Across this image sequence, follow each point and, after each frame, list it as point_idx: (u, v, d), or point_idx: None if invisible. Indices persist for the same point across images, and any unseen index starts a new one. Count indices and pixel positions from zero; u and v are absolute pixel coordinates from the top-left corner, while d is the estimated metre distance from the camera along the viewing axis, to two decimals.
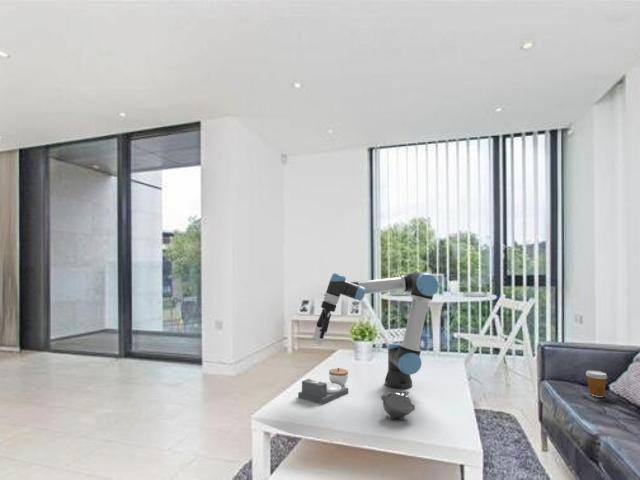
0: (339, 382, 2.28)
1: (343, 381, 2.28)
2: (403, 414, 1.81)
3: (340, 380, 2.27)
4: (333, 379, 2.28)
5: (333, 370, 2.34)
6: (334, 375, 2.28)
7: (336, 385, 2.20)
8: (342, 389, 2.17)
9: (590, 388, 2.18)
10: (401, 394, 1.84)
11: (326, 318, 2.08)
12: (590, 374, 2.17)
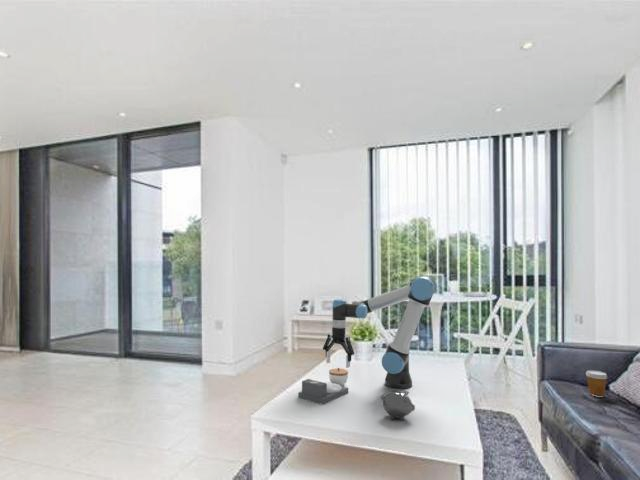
0: (339, 382, 2.28)
1: (343, 381, 2.28)
2: (403, 414, 1.81)
3: (340, 380, 2.27)
4: (333, 379, 2.28)
5: (333, 370, 2.34)
6: (334, 375, 2.28)
7: (336, 385, 2.20)
8: (342, 389, 2.17)
9: (590, 388, 2.18)
10: (401, 394, 1.84)
11: (348, 342, 2.28)
12: (590, 374, 2.17)
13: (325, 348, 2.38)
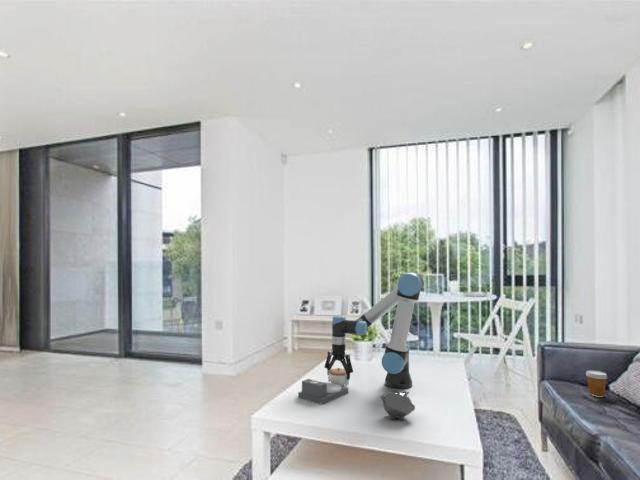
0: (339, 382, 2.28)
1: (343, 381, 2.28)
2: (403, 414, 1.81)
3: (340, 380, 2.27)
4: (333, 379, 2.28)
5: (333, 369, 2.34)
6: (334, 375, 2.28)
7: (336, 385, 2.20)
8: (342, 389, 2.17)
9: (590, 388, 2.18)
10: (401, 394, 1.84)
11: (348, 360, 2.28)
12: (590, 374, 2.17)
13: (327, 366, 2.37)
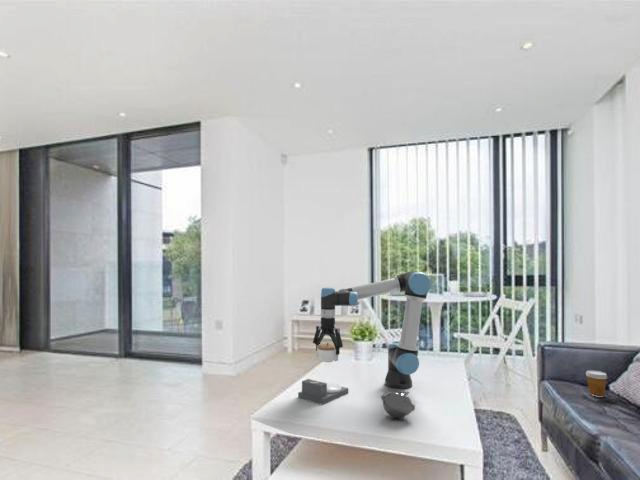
0: (328, 357, 2.13)
1: (332, 356, 2.14)
2: (403, 414, 1.81)
3: (329, 355, 2.13)
4: (321, 354, 2.14)
5: (322, 345, 2.20)
6: (322, 350, 2.14)
7: (336, 385, 2.20)
8: (342, 389, 2.17)
9: (590, 388, 2.18)
10: (401, 394, 1.84)
11: (338, 334, 2.14)
12: (590, 374, 2.17)
13: (315, 342, 2.22)
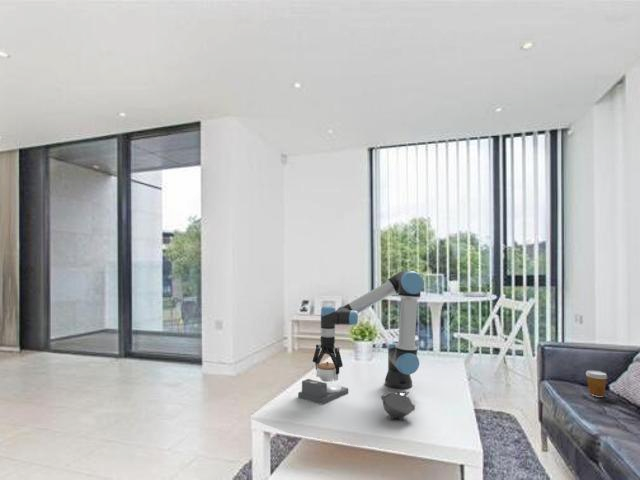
0: (328, 377, 2.13)
1: (332, 376, 2.13)
2: (403, 414, 1.81)
3: (329, 375, 2.13)
4: (321, 374, 2.13)
5: (322, 364, 2.19)
6: (322, 369, 2.13)
7: (336, 385, 2.20)
8: (342, 389, 2.17)
9: (590, 388, 2.18)
10: (401, 394, 1.84)
11: (337, 354, 2.13)
12: (590, 374, 2.17)
13: (315, 360, 2.22)
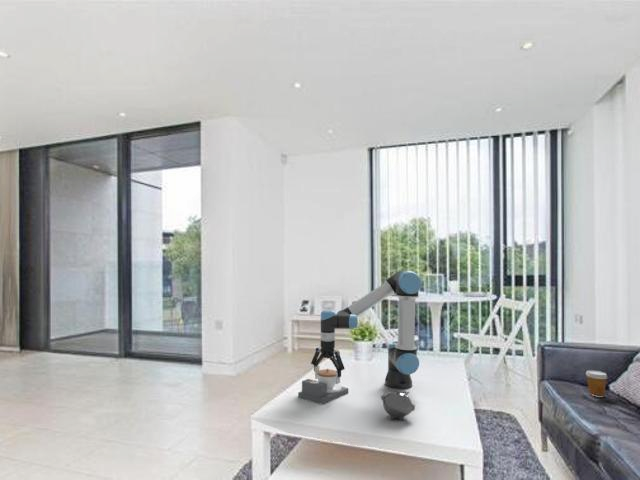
0: (328, 384, 2.13)
1: (332, 383, 2.13)
2: (403, 414, 1.81)
3: (329, 382, 2.12)
4: (321, 381, 2.13)
5: (322, 370, 2.19)
6: (322, 376, 2.13)
7: (336, 385, 2.20)
8: (342, 389, 2.17)
9: (590, 388, 2.18)
10: (401, 394, 1.84)
11: (338, 357, 2.13)
12: (590, 374, 2.17)
13: (313, 363, 2.22)
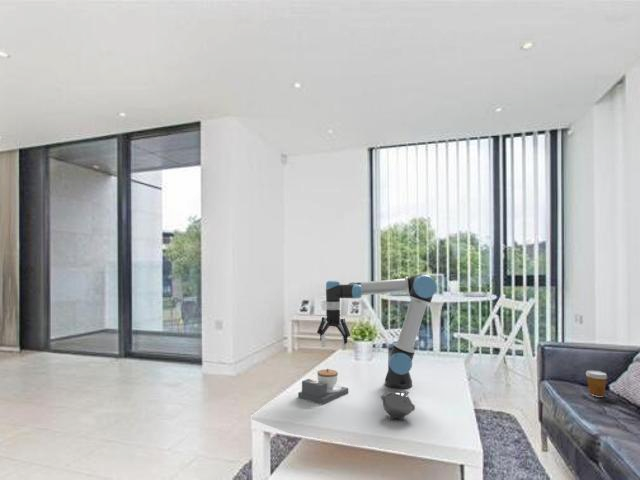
0: (328, 384, 2.13)
1: (332, 383, 2.13)
2: (403, 414, 1.81)
3: (329, 382, 2.12)
4: (321, 381, 2.13)
5: (322, 371, 2.19)
6: (322, 376, 2.13)
7: (336, 385, 2.20)
8: (342, 389, 2.17)
9: (590, 388, 2.18)
10: (401, 394, 1.84)
11: (344, 324, 2.22)
12: (590, 374, 2.17)
13: (319, 332, 2.31)
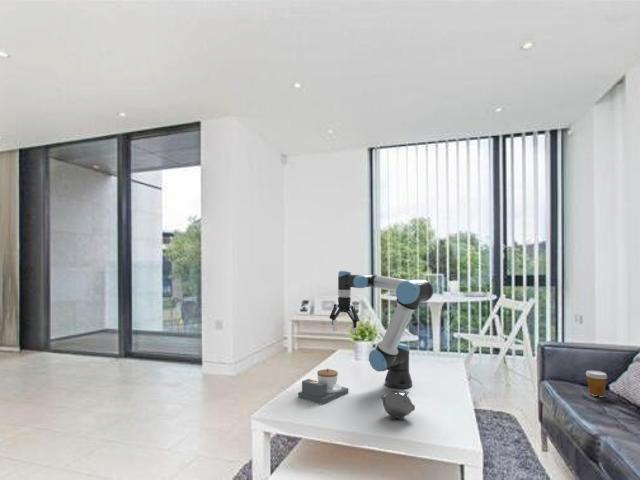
0: (328, 384, 2.13)
1: (332, 383, 2.13)
2: (403, 414, 1.81)
3: (329, 382, 2.12)
4: (321, 381, 2.13)
5: (322, 371, 2.19)
6: (322, 376, 2.13)
7: (336, 385, 2.20)
8: (342, 389, 2.17)
9: (590, 388, 2.18)
10: (401, 394, 1.84)
11: (354, 310, 2.44)
12: (590, 374, 2.17)
13: (332, 317, 2.53)
